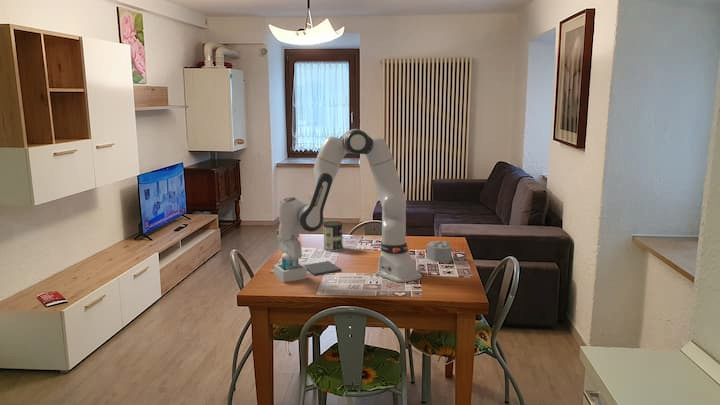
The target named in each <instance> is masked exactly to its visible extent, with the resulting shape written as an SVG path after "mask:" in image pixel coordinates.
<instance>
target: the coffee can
mask: <svg viewBox="0 0 720 405" xmlns="http://www.w3.org/2000/svg"><path fill="white" fill-rule="evenodd" d="M322 226H323V250H324V251H327V252H338V251H342V250H343V222H341V221H337V220H336V221H334V220H333V221H332V220H331V221H330V220H329V221H325V222H323V224H322Z"/></svg>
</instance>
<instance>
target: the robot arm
mask: <svg viewBox="0 0 720 405" xmlns="http://www.w3.org/2000/svg"><path fill="white" fill-rule="evenodd" d="M347 154H353V155H365V156H366V159H367V160H368V166H369V167H370V171H371V174H372V178H373V180H374V182H375V187H376V192H377V196H378V198H379V202H380V206H381V209H382V210H381V214H382V215H381V243H380V250H381V252H380V254H379V257H378V265H377V270H376V271H375V275H376V276H380V277H382V278H385V279H387V280H391V281H393V282H396V283H407V282H413V281H417V280H419V279H421V278H422V277H423V276H422V275H423V274H421V273H420V272H418V271H417V261H416V259H413V258H412V256H411V255H410V253H409V252H408V251H409V246H408V244H407V243H408V242H407V241H406V240H407V238H406V237H407V234H406V233H407V232H406V231H407V228H406V226H407V224H406V223H407V213H406V211H407V209H406V208H407V197H406V194H405V192H404V191H403V188H402V184H401V181H400V176H399V173H398V170H397V167H396V163H395V161H394V157H393V154H392V152H391V150H390V147H389V145H388V144H387V141H386V140H385V139H384V138H382V137H372V138H371V136H369V135H368V134H367V133H366V132H365V131H363V130H362V129H359V128H353V129H350V130H348V131H346V132H345V133H344V134H343V135H342V136H340V137H336V136H329V137H326V139H325V140H324V141H323V143H322V145H321V147H320V149H319V151H318V153H317V156H316V159H315V161H314V164H313V170H312V172H313V176H314V181H315V184H314V190H313V193H312V196H311V199H310V203H307V202H303V201H301V200H299V199H298V198H296V197H286V198H284V199H282V200H280V202H279V203H278V204H279V205H278V220H279V227H278V228H279V229H276V232H275V233H276V235H277V236H276V237H277V239H276V240H277V246H278V248H279V250H280V251H282V254H283V253H285V249H287V254H288V255H290V256H291V257H292V259H293V260H292V266H296V265H297V259H298V260H299V259H301V258H302V257H303V252H302V243H301V242H300V240H298V239H299V238H300V226H301V227H302V229H303V230H304V231H306V232H317V231H318V230H319V229H320V228H321V227H322V226H323V223H324V208H325V205H326V203H327V199H328V195H329V193H330V190H331V187H332V185H333V182H334V181H335V179H336V176H337V173H338V171H339V168H340V167H341V164H342V161H343V159H344V157H345V156H346V155H347Z"/></svg>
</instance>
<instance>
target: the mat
mask: <svg viewBox="0 0 720 405" xmlns="http://www.w3.org/2000/svg"><path fill="white" fill-rule="evenodd" d="M302 265H303V266H305V267H306V268H307V273H310V274H311V275H312V276H320V275H325V274H326V275H327V274H330V273H337V272H341V271H342V268H341V267H339V266H337V265H336V264H334V263H333V262H330V261H329V260H325V261H320V262H313V263H308V264H302Z"/></svg>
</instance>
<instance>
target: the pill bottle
mask: <svg viewBox="0 0 720 405" xmlns="http://www.w3.org/2000/svg"><path fill="white" fill-rule="evenodd" d="M292 260H293V259H292V257H291V256H290V255H288V254H287V249H285V253H283V252H282V255H281V264H282V269H283V270H284V271H286V270H291V269H297V268H298V262H299V258H298V259H297V265H296V266H292Z"/></svg>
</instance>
